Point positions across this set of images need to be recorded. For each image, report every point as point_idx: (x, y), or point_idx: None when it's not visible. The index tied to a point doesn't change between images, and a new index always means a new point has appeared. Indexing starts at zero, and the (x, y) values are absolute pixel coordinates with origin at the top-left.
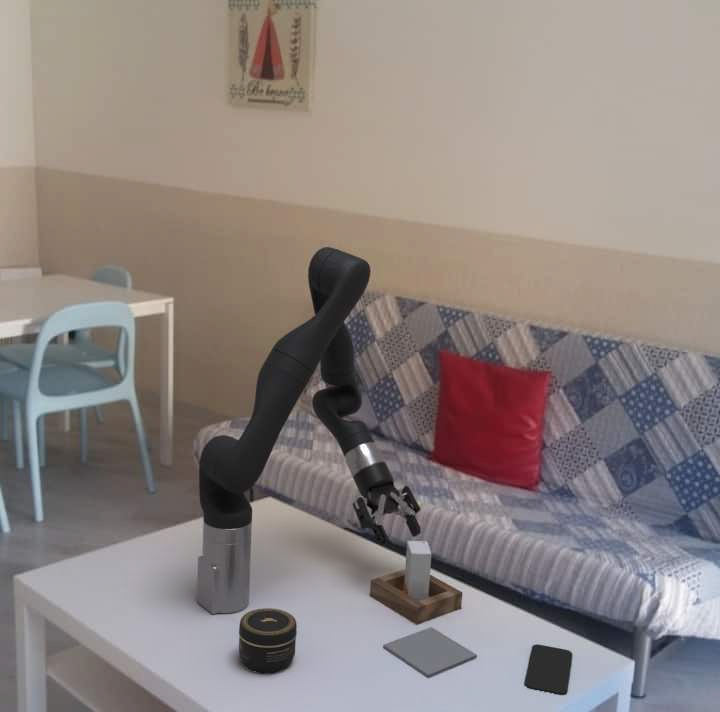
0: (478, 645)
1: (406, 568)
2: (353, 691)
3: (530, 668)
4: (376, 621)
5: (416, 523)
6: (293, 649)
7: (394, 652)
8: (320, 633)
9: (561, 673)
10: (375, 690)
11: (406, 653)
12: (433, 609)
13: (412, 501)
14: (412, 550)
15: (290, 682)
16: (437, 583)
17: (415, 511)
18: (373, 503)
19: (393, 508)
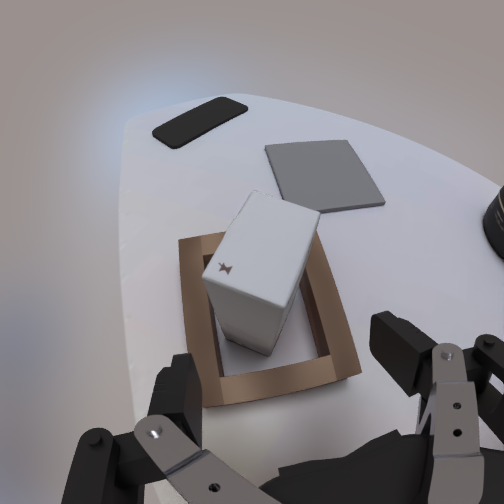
0: (242, 166)
1: (289, 308)
2: (426, 159)
3: (220, 119)
4: (373, 274)
5: (170, 381)
6: (492, 202)
7: (374, 183)
8: (458, 270)
9: (197, 110)
10: (406, 151)
11: (359, 175)
12: None
13: (97, 488)
14: (308, 225)
15: (478, 195)
16: (201, 295)
17: (120, 444)
18: (495, 450)
19: (317, 468)
